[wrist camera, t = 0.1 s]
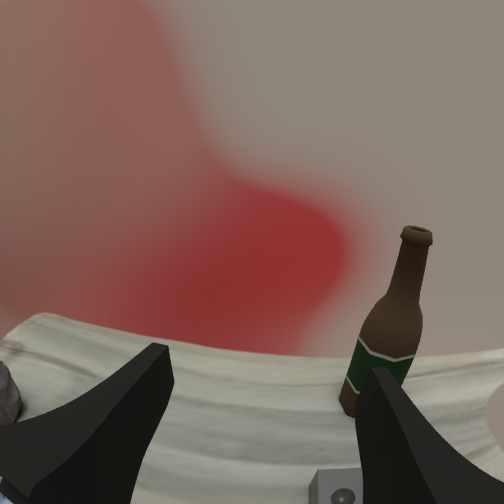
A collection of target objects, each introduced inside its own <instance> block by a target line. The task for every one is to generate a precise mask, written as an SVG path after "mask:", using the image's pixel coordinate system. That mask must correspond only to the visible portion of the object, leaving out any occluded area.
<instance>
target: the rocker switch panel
mask: <svg viewBox="0 0 504 504" xmlns="http://www.w3.org/2000/svg"><path fill="white" fill-rule="evenodd" d="M309 504H363V476H362V468H350V469H323V470H318V471H317V472H316V474H315V476H314V478H313V480H312V481H311V483H310V485H309Z"/></svg>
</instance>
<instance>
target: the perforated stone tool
mask: <svg viewBox="0 0 504 504" xmlns="http://www.w3.org/2000/svg"><path fill="white" fill-rule="evenodd" d="M21 406H22V401H21V397H20V392H19V390H18V388H17V386H16V384H15V382H14V380H13V379H12V377H11V374H10V372H9V369H8V368H7V366H6V365H4V364H3V362H2V361H0V426H2V425H7V424H12V423H14V421H15V418H16V417H17V413H18V411H19V409H20V407H21Z"/></svg>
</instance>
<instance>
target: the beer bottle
mask: <svg viewBox="0 0 504 504" xmlns="http://www.w3.org/2000/svg"><path fill="white" fill-rule="evenodd" d="M400 237H401V238H402V244H401V247H400V251H399V255H398V259H397V262H396V266H395V270H394V273H393V276H392V279H391V283H390V286H389V289H388V291H387V293H386V295H385V296H384V297H382V298H381V299H380V300H379V301H378V302H377V303H376V304H375V306H374V307H373V309H372V310H371V311H370V313H369V315H368V316H367V318H366V320H365V321H364V323H363V326H362V329H361V331H360V334H359V337H358V340H357V344H356V347H355V350H354V353H353V357H352V360H351V363H350V366H349V369H348V372H347V375H346V378H345V381H344V384H343V387H342V389H341V393H340V397H339V400H340V402H341V404H342V406H343V408H344V410H345V412H346V413H347V415H349V416H352V417H355V401H356V399H357V397H358V395H359V393H360V391H361V389H362V386H363V384H364V382H365V380H366V378H367V375H368V373H369V371H370V369H371V367H386V368H387V369H388V370H389V371H390V373H391V374H392V375H393V377H394V378H395V379H396V381H397V382H398V384H399V385H400V386H401V385H402V383H403V381H404V379H405V377H406V375H407V373H408V370H409V368H410V366H411V364H412V361H413V359H414V357H415V354H416V351H417V348H418V345H419V342H420V338H421V333H422V326H423V325H422V323H423V318H422V317H423V316H422V313H421V309H420V306H419V297H420V290H421V286H422V281H423V276H424V271H425V266H426V260H427V255H428V249H429V246H430V245H432V242H433V241H432V232H430V231H429V230H426V229H424V228H421V227H417V226H405V227H404V229H403V231H402V233H401V235H400Z"/></svg>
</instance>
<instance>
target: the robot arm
mask: <svg viewBox="0 0 504 504" xmlns="http://www.w3.org/2000/svg"><path fill="white" fill-rule="evenodd" d="M174 383H175V382H174V377H173V371H172V366H171V360H170V354H169V347H168V345H163V344H158V343H154V342H153V343H151V344H150V345H149V346H148V347H146V348H145V349H144V350H143V351H141V352H140V353H139V354H138V355H136V356H135V357H134V358H133V359H132V360H130V361H129V362H128V363H127V364H125V365H124V366H123V367H121V368H120V369H119V370H118V371H116V372H115V373H114V374H112V375H111V376H110V377H108V378H107V379H106V380H104V381H103V382H101V383H100V384H98V385H97V386H95V387H94V388H93V389H91V390H90V391H88V392H86V393H85V394H83V395H81V396H80V397H78V398H76V399H74V400H73V401H71V402H69V403H67V404H65V405H63V406H61V407H59V408H56V409H54V410H52V411H49V412H47V413H45V414H42V415H39V416H37V417H34V418H31V419H27V420H24V421H20V422H17V423H12V424H7V425H2V426H0V476H1V477H2V478H3V479H2V480H1V479H0V504H130V502H131V498H132V494H133V490H134V486H135V483H136V479H137V476H138V473H139V470H140V466H141V463H142V460H143V457H144V455H145V453H146V450H147V448H148V446H149V444H150V442H151V439H152V437H153V435H154V433H155V431H156V429H157V427H158V425H159V423H160V420H161V418H162V416H163V414H164V412H165V410H166V407H167V405H168V402H169V399H170V396H171V393H172V390H173V386H174ZM355 426H356V433H357V440H358V447H359V453H360V460H361V468H362V476H363V504H504V482H502V481H500V480H498V479H496V478H494V477H492V476H490V475H489V474H487V473H485V472H484V471H482V470H481V469H479V468H478V467H476V466H475V465H474V464H472V463H471V462H470V461H468V460H467V459H466V458H465V457H463V456H462V455H461V454H460V453H458V452H457V451H456V450H455V449H454V448H453V447H452V446H451V445H450V444H449V443H448V442H447V441H446V440H445V439H444V438H442V436H441V435H440V434H439V433H438V432H437V431H436V430H435V429H434V428H433V427H432V426H431V424H430V423H429V422H428V421H427V420H426V419H425V417H424V416H423V415H422V414H421V413H420V411H419V410H418V409H417V407H416V406H415V405H414V404H413V402H412V401H411V400H410V398H409V397H408V396H407V394H406V393H405V392H404V390H403V389H402V388H401V386H400V385H399V384H398V382H397V381H396V379H395V378H394V377H393V375H392V374H391V373H390V371H389V370H388V369H387V368H386V367H371V369H370V371H369V373H368V375H367V378H366V380H365V382H364V384H363V386H362V389H361V391H360V393H359V395H358V397H357V399H356V401H355Z"/></svg>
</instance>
